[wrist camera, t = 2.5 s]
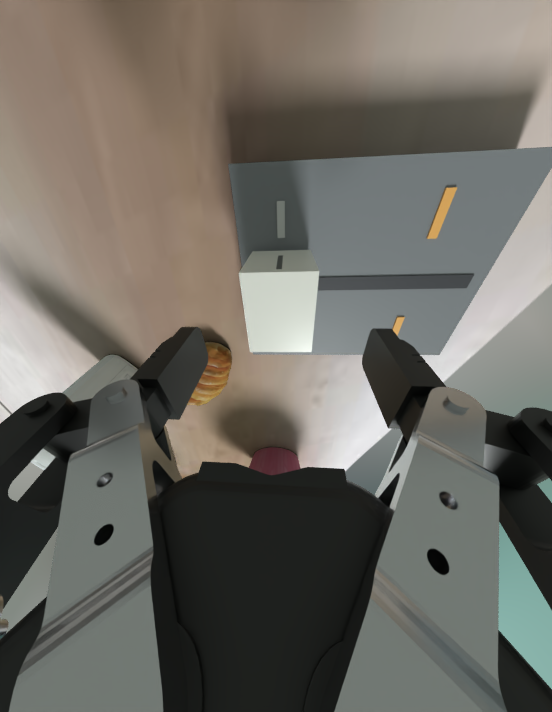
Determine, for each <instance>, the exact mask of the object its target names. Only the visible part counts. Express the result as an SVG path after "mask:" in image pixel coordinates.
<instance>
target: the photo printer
mask: <svg viewBox="0 0 552 712" xmlns="http://www.w3.org/2000/svg"><path fill="white" fill-rule="evenodd" d="M137 370H138V369H137V368H136V367H135V366H133V365H132V364H130V363H129V362H128V361H126V360H125V359H123V358H121V357H120V356H118V355H107V356H105V357H104V358H103V359H101V360H100V361H99V362H98V363H97V364H96V365H94V366H93V367H92V368H91V369H90V370H88V371H87V372H86V373H85V374H84V375H83V376H81V377H80V378H79V379H78V380H77V381H76V382H74V383H73V384H72V385H71V386H70V387H68V388H67V389H66V390H65V391H64V392H63V394H65V395H66V396H67V397H68V398H69V399H70V400H71V401H72V402H76V401H81V400H86V399H91V398H93V397H94V395H95V394H96V393H97V392H98V391H100V390H101V389H102V388H104V387H105V386H107V385H109V384H111V383H114V382H116V381H120V380H125V379H130V378H131V377H132V376H133V375H134V374H135V373H136V372H137ZM54 458H55V456H53V455H52V454H50V453H49V452H47V451H46V450H45V449H42V450H41V451H40V452H39V453H38V454H37V455H36V456H35V457H34V459H33V460H32V461H31V463H33V464H34V465H36V466H37V467H39V468H41V469H43V470H45V469H46V468H47V467H48V465H49V464H50V463H51V462H52V461H53V460H54Z"/></svg>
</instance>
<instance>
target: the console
mask: <svg viewBox="0 0 552 712" xmlns="http://www.w3.org/2000/svg"><path fill="white" fill-rule="evenodd" d="M228 165H229V173H230V180H231V188H232V195H233V203H234V211H235V218H236V226H237V234H238V241H239V249H240V256H241V264H242V267H243V265H244V264H245V262H246V261H247V259H248V258H249V256H250V254H251V253H252V251H283V250H311V252H312V255H313V257H314V260H315V262H316V264H317V267H318V269H319V280H318V290H317V301H316V311H315V321H314V332H313V342H312V352H253V354H304V355H363V354H364V350H365V347H366V344H367V340H368V337H369V334H370V331H371V330H372V329H373V328H390V329H392V330H393V331H394V332H395V334H396V335H397V336H398V338H399V339H400V340H404V341H406V342H407V343H409V344H410V345H412V346H413V347H414V348H415V349H416V350H417V351H418V353H419V354H420V355H440V353H441V351H442V350H443V348H444V346H445V345H446V343H447V341H448V340H449V338H450V336H451V335H452V333H453V331H454V330H455V328H456V326H457V325H458V323H459V321H460V320H461V318H462V316H463V315H464V313H465V311H466V310H467V308H468V306H469V305H470V303H471V301H472V300H473V298H474V296H475V295H476V293H477V291H478V290H479V288H480V286H481V285H482V283H483V281H484V280H485V278H486V276H487V275H488V273H489V271H490V270H491V268H492V266H493V265H494V263H495V261H496V260H497V258H498V256H499V255H500V253H501V251H502V250H503V248H504V246H505V245H506V243H507V241H508V240H509V238H510V236H511V235H512V233H513V231H514V230H515V228H516V226H517V225H518V223H519V221H520V220H521V218H522V216H523V215H524V213H525V211H526V210H527V208H528V206H529V205H530V203H531V201H532V200H533V198H534V196H535V195H536V193H537V191H538V190H539V188H540V186H541V185H542V183H543V181H544V180H545V178H546V176H547V175H548V173H549V171H550V170H551V168H552V147H542V148H523V149H504V150H485V151H466V152H446V153H427V154H408V155H389V156H370V157H351V158H332V159H313V160H294V161H275V162H256V163H237V164H228Z"/></svg>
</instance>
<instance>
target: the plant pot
mask: <svg viewBox="0 0 552 712" xmlns="http://www.w3.org/2000/svg"><path fill="white" fill-rule="evenodd" d="M249 468H250V469H253V470H256V471H259V472H262V473H265V474H267V475H276V474H281V473H285V472H289V471H294V470H298V469H300V465H299V461H298V457H297V456H296V454H295V453H293V452H291V451H289V450H287V449H283V448H277V447H269V448H263V449H260V450H258V451H257V452H255V454H254V455H253V458H252V461H251V464H250V466H249Z"/></svg>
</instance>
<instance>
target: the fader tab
mask: <svg viewBox="0 0 552 712" xmlns="http://www.w3.org/2000/svg"><path fill="white" fill-rule="evenodd" d="M239 278H240V285H241V292H242V299H243V306H244V313H245V320H246V327H247V334H248V341H249V348H250V352H312V342H313V332H314V321H315V311H316V301H317V290H318V280H319V269H318V267H317V264H316V262H315V260H314V257H313V255H312V252H311V250H283V251H252V253H251V254H250V256H249V258H248V259H247V261H246V262H245V264H244V265H243V267H242V269H241V270H240V272H239Z"/></svg>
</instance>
